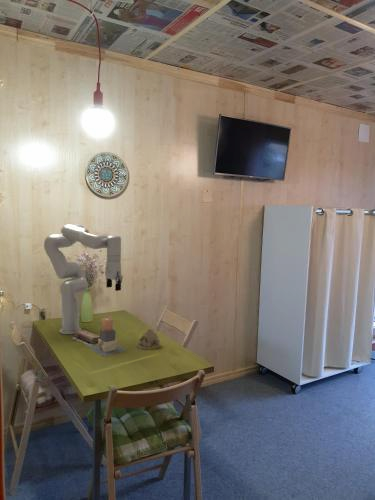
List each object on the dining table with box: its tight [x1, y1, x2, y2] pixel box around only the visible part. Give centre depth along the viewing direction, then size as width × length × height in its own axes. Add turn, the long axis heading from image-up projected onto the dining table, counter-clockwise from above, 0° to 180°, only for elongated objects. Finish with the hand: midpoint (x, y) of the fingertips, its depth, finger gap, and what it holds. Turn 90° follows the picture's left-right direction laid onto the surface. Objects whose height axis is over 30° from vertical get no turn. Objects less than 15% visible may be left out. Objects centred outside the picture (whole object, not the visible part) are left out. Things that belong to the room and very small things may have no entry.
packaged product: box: [71, 329, 100, 347], centre depth 212 cm, size 18×5×10 cm
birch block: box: [97, 338, 118, 352], centre depth 199 cm, size 7×7×5 cm
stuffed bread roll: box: [136, 328, 162, 351], centre depth 206 cm, size 14×11×10 cm
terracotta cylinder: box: [101, 317, 114, 332], centre depth 198 cm, size 6×6×6 cm
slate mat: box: [88, 344, 127, 357], centre depth 199 cm, size 16×14×1 cm
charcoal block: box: [99, 329, 117, 342], centre depth 198 cm, size 6×6×5 cm
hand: (113, 288), depth 209 cm, fingers open, 9 cm apart
